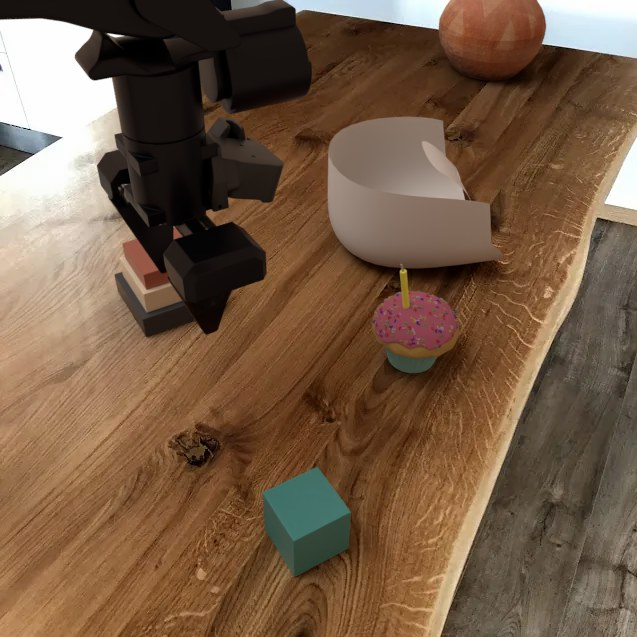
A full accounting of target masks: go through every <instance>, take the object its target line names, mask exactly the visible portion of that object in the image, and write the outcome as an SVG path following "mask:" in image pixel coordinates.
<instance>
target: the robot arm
mask: <svg viewBox="0 0 637 637" xmlns="http://www.w3.org/2000/svg"><path fill="white" fill-rule="evenodd" d="M40 19H41V20H47V21H54V22H55V21H56V22H62V23H67V24H70V25H73V26H74V25H75V26H77V27H81V28H85V29H88V30H91V31H92V32H91V35H90V36H89V38H88V39H87V40H86V41H85V42H84V43H83V44H82V45H81V46H80V47H79V49H78V50H77V51H75V53H74V60H75V61H76V63H77V64H78V65H79V67H80V68H81V69H82V71H83V72H84V73H85V75H86V76H87V77H88V78H89V79H90V80H91V81H93V82H94V81H95V82H96V81H101V80H106V79H111V82H112V86H113V93H114V99H115V104H116V109H117V114H118V120H119V125H120V131H121V132H119V133H115V134H113V135H114V140H115V141H114V142H115V145H116V149H115V150H111V151H108V152H105V153H104V154H103V156H102V157H101V159H100V160H99V162H98V163H97V164H96V170H97V175H98V179H99V184H100V187H101V188H102V189H103V191H104V192H105V193H106V194H107V198H108V200H109V201H110V203H111V204H112V205H113V207H114V209H115V210H116V212H117V213H118V215H119V216H120V217H121V219H122V220H123V221H124V223H125V224H126V226H127V227H128V229H129V230H130V232H131V233H132V234H133V236H134V237H135V239H137V240H138V241H139V243H140V244H141V246H142V247H143V249H144V250H145V251H146V253H147V254H148V256H149V257H150V259H151V260H152V261H153V263H154V264H155V266H156V267H157V269H158V270H159V272H160V273H162V274H164V273H167V272H168V275H169V277H167V279H168V281H169V282H170V284H171V285H172V287H173V288H174V290H175V291H176V293H177V294H178V296H179V297H180V298H181V300H182V301H183V303H184V304H185V306H186V307H187V309H188V310H189V312H190V313H191V315H192V316H193V318H194V319H195V320H194V321H195V322H196V324H197V325H198V327H199V328H200V329H201V331H202V333H203V334H204V335H206V336H207V335H210V334H213V333H216V332H217V331H218V330H219V328H220V325H221V323H222V319H223V317H224V313H225V311H226V307H227V304H228V301H229V298H230V296H231V294H232V292H233V291H235V290H238V289H241V288H245V287H248V286H249V285H252V284H255V283H258V282H261V281H264V280H265V278H266V276H267V273H268V270H267V269H268V268H267V252H266V251H265V249H264V248H263V247H262V246H261V245H260V244H259V243H258V242H257V241H256V240H255V238H253V236H252V235H251V234H250V233H249V232H248V231H247V230H246V229H245V228H244V227H242V226H241V225H239V224H237V223H235V222H234V221H229V222H225V223H222V224H219V225H216V224H215V222H214V221H213V220H212V219H211V217H209V215H208V214H207V211H210V210H211V211H212V212H213V213H217V212H220V211H224V210H226V209H229V208H230V204H229V199H235V200H251V201H260V202H261V203H263V204H269V203H273V202H274V199H275V196H276V192H277V189H278V186H279V182H280V180H281V176H282V172H283V169H284V166H285V162H284V161H282V159H281V158H280V157H278V156H277V155H276V154H275V153H273V151H271V150H270V149H269V148H268V147H267V146H265V145H264V144H262V143H260V142H258V141H256V140H255V139H254V138H252V137H251V136H247V137H246V132H245V127H244V126H243V125H241V123H239V122H238V121H237V120H236V119H234V118H233V117H223V116H218V117H217V118H216V120H215V121H214V122H213V124H212V125H211V126H210V127H209V129H208V130H206V122H205V121H206V120H205V111H204V102H203V93H204V95H205V97H206V98H207V100H208V101H209V102H211V103H219V105H220V107H221V108H222V109H223V110H224V112H225V113H226V114H229V115H233V114H239V113H243V112H247V111H251V110H256V109H260V108H265V107H270V106H274V105H278V104H283V103H288V102H291V101H296V100H301V99H304V98H305V97H306V96H307V95H308V94H309V92H310V89H311V85H312V78H313V77H312V76H313V66H312V65H313V64H312V61H311V60H310V59H309V53H308V50H307V47H306V46H307V45H306V42H305V40H304V36H303V34H302V32H301V29H300V27H298V25H297V9H296V7H295V6H294V5H292V4H290V3H289V2H287V1H285V0H267V1H264V2H262V3H259V4H258V5H254V6H253V5H252V6H247V7H242V8H241V7H240V8H236V9H230V10H223V11H221V10H220V9H219V8H217V7H216V6H215V5H214V3H212V1H211V0H0V21H8V20H40ZM113 35H115V36H116V37H115V36H113ZM174 37H179V38H174ZM202 91H203V92H202ZM174 228H176V229H177V230H178V232H179V233H180V234H181V235H182V237H180V238H177V239H174Z"/></svg>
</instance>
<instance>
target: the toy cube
mask: <svg viewBox="0 0 637 637" xmlns="http://www.w3.org/2000/svg"><path fill="white" fill-rule="evenodd" d="M262 508H263V522H264V523H263V524H264V531H265V532H266V534H267V535H268V537H269V538H270V541H271V542H272V544H273V545H274V547H275V548H276V551H277V552H278V553H279V555H280V557H281V558H282V560H283V561H284V563H285V565H286V566H287V567H288V570H289V571H290V572H291V574H292V576H293V577H294V578H295V577H296V578H297V576H300V575H302V574H304V573H305V572H307V571H309V570H311V569H312V568H315V567H317V566H319V565H320V564H322V563H324V562H326V561H328V560H330V559H331V558H333V557H335V556H337V555H340V554H341V553H343V552H345V551H347V550H348V549H349V548H350V534H351V532H350V531H351V520H352V517H351V516H352V511H351V510H350V509H349V507H348V505H346V503H345V502H344V500H343V499H342V498H341V496H340V495H339V493H338V492H337V491H336V490H335V488H334V487H333V485H332V484H331V482H329V479H328V478H327V477H326V476H325V474H324V473H323V472H322V470H321V469H320V467H319V466H315V467H313V468H311V469H309V470H307V471H305V472H303V473H301V474H299V475H296V476H294V477H292V478H289V479H288V480H286V481H283V482H282V483H280V484H277V485H275V486H273V487H271V488H269V489H267V490H265V491H262Z"/></svg>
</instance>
